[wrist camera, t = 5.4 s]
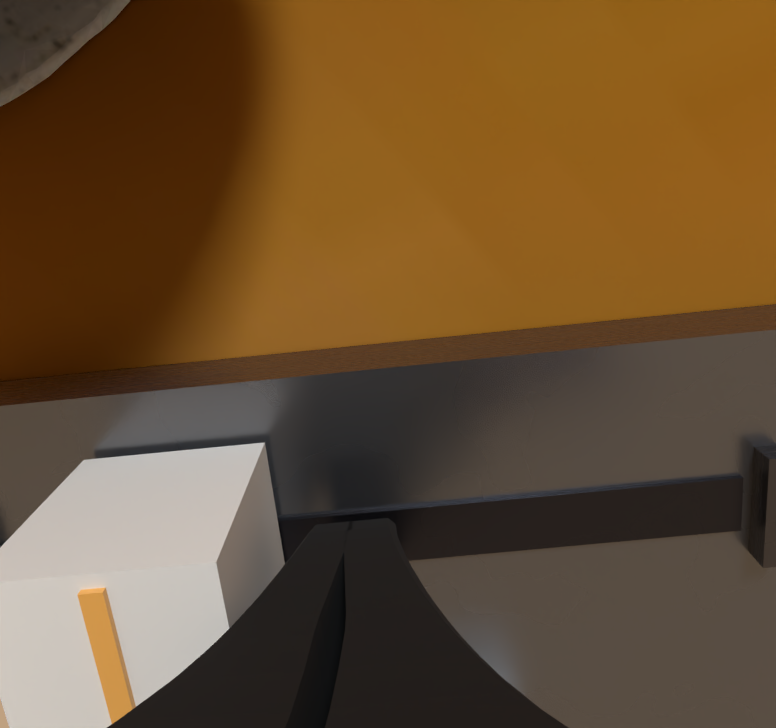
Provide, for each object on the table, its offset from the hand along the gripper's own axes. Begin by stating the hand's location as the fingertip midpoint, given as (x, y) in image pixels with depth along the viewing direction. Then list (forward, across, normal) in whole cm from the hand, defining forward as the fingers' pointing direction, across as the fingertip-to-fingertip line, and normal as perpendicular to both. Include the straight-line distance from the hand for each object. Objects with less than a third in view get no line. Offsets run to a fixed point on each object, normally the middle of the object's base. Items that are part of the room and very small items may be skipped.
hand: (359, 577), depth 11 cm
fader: (+1, +3, 0) cm, 3 cm away
